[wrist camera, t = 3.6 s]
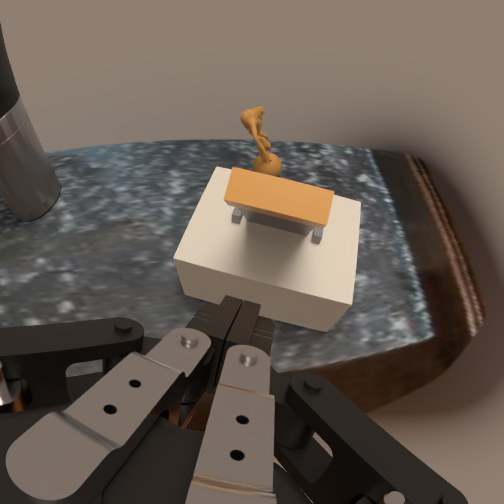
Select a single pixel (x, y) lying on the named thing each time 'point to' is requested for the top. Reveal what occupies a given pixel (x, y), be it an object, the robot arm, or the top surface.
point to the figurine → (261, 143)
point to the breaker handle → (278, 201)
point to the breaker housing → (270, 260)
